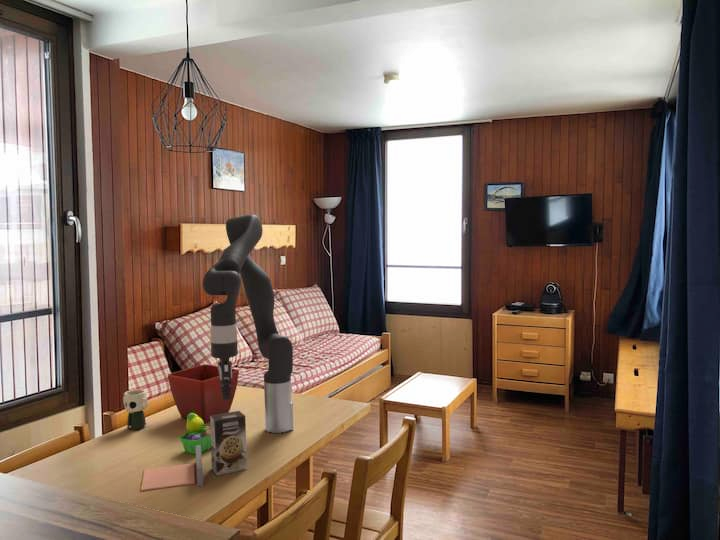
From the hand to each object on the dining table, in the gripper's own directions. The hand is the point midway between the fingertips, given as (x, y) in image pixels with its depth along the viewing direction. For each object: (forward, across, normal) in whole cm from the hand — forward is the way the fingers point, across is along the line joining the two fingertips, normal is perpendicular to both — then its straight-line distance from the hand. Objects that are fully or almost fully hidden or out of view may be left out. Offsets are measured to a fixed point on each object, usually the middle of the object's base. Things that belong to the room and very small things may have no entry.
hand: (225, 394), depth 173 cm
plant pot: (+22, +53, +5) cm, 58 cm away
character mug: (+22, +48, +29) cm, 60 cm away
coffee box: (+22, 0, 0) cm, 22 cm away
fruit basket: (+22, +20, +8) cm, 31 cm away
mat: (+22, 0, +17) cm, 28 cm away
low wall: (+22, 0, +8) cm, 24 cm away
